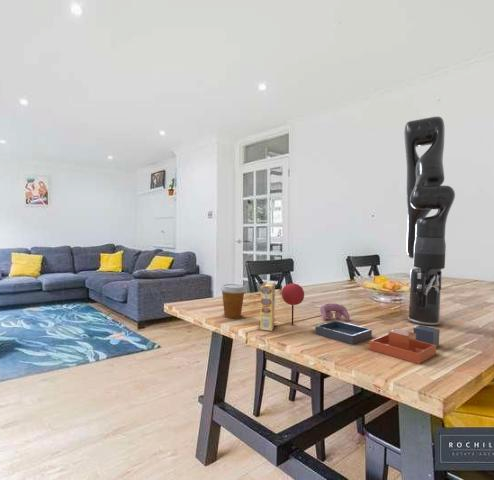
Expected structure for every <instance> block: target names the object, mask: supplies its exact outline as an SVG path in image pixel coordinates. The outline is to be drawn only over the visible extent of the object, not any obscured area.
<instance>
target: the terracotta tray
mask: <svg viewBox="0 0 494 480" xmlns="http://www.w3.org/2000/svg"><path fill="white" fill-rule="evenodd" d="M368 349H369V350H370V351H374V352H377V353H380V354H383V355H387V356H391V357H395V358H397V359H401V360H405V361H407V362H410V363H411V362H412V363H415V364H418V365H419V364H422V363H424V362H425V361H426V360H428V359H430V358H432V357H433V356H435V355H437V347H436V345H434V344H430V343H425V342H421V341H417V340H416V351H414V352H412V351H409V350H405V349H401V348H398V347H394V346H390V345H389V333H386V334H383V335H381V336H378V337H375V338H373V339H371V340H369V348H368Z"/></svg>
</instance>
